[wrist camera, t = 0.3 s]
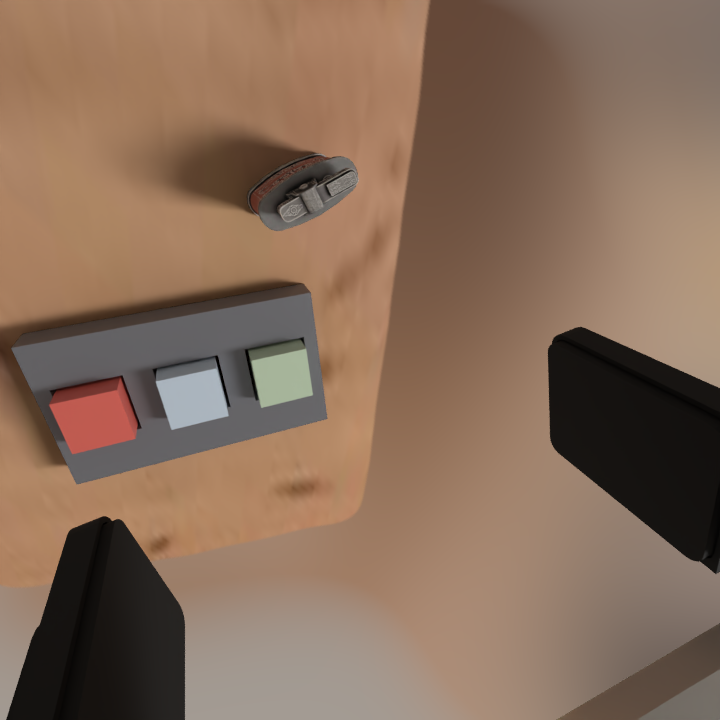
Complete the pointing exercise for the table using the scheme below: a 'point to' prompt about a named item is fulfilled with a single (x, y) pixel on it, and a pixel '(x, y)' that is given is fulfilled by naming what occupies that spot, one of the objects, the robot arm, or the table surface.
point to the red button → (95, 414)
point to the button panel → (167, 347)
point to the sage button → (280, 372)
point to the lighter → (301, 190)
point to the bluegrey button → (191, 392)
